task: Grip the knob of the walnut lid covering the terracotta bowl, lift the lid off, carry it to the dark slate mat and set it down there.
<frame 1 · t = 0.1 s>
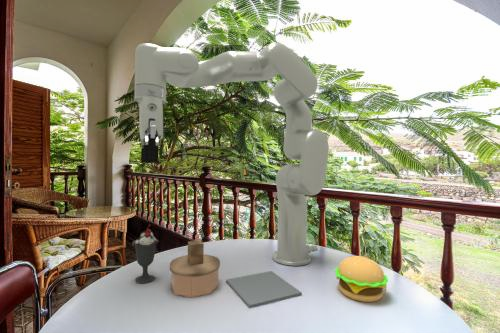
hand: (149, 162, 66), 31 cm above the table, tool pointing down, fingers open, 9 cm apart
sundae: (145, 280, 69), on the table
mat: (261, 288, 66), on the table
bowl: (194, 285, 66), on the table
hamburger: (360, 293, 64), on the table
lid: (195, 266, 66), point 5 cm above the table, touching bowl
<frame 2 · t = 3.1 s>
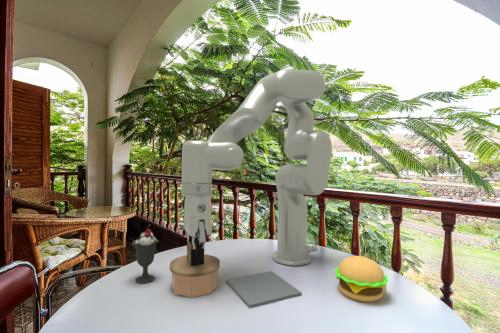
hand: (195, 261, 66), 6 cm above the table, tool pointing down, fingers closed on lid, 3 cm apart
lid: (195, 266, 66), point 5 cm above the table, touching bowl, gripper
everything else where it was.
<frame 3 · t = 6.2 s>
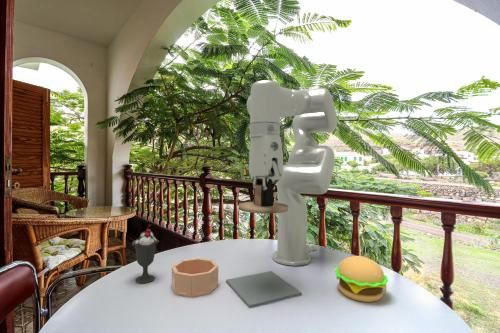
hand: (263, 204, 65), 21 cm above the table, tool pointing down, fingers closed on lid, 3 cm apart
lid: (263, 209, 65), point 20 cm above the table, touching gripper
everything else where it was.
when the fingers open (3 cm above the table, at t = 9.5 s): lid drops 2 cm, resting on mat.
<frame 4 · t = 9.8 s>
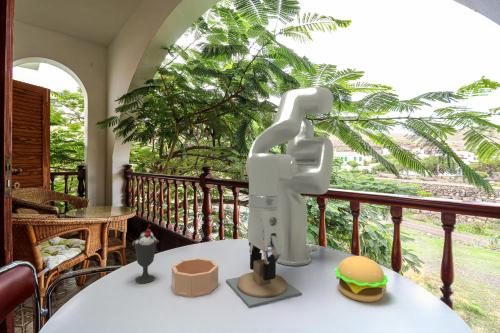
hand: (262, 273, 66), 4 cm above the table, tool pointing down, fingers open, 6 cm apart
lid: (261, 285, 66), point 1 cm above the table, touching mat
everything else where it was.
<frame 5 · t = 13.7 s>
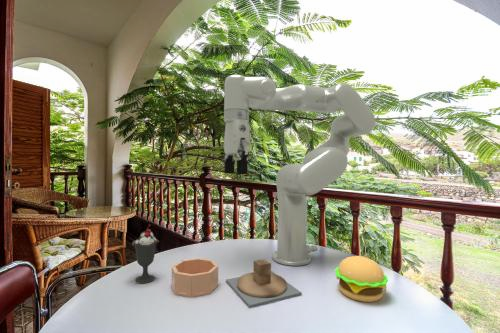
hand: (235, 173, 79), 28 cm above the table, tool pointing down, fingers open, 9 cm apart
nothing on the table moved.
at the end: lid inside the target area on the mat (0.0 cm from its centre), point 0.6 cm above the mat's base; lid tilted 0°; the gripper is holding nothing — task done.
